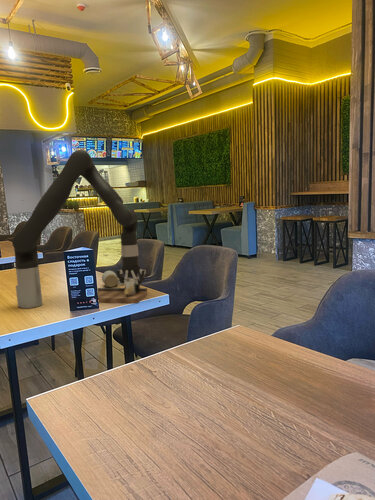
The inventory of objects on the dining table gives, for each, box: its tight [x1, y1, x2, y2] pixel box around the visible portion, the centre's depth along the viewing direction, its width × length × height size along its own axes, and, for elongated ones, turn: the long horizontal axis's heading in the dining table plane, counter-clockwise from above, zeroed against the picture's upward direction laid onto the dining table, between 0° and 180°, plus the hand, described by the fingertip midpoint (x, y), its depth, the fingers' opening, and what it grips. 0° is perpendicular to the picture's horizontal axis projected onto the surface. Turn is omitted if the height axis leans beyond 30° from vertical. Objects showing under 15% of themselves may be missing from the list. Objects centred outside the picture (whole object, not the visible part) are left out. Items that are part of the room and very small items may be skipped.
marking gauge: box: [124, 278, 137, 297], centre depth 172 cm, size 4×10×6 cm, turn 167°
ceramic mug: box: [101, 270, 125, 288], centre depth 200 cm, size 11×8×8 cm
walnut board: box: [97, 287, 148, 304], centre depth 174 cm, size 24×14×3 cm, turn 77°
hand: (132, 291), depth 175 cm, fingers closed on marking gauge, 4 cm apart
